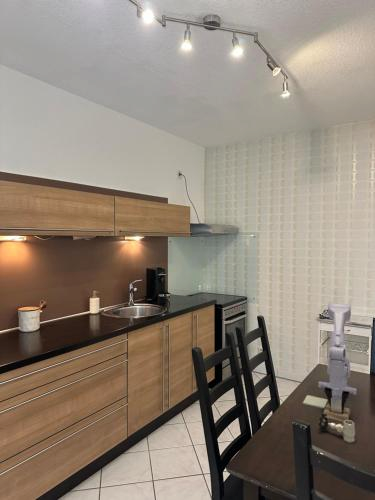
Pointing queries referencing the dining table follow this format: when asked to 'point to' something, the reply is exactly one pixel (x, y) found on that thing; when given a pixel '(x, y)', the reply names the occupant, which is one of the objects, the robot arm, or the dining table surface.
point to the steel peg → (336, 404)
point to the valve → (339, 427)
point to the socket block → (336, 414)
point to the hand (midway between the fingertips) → (336, 407)
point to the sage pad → (315, 401)
